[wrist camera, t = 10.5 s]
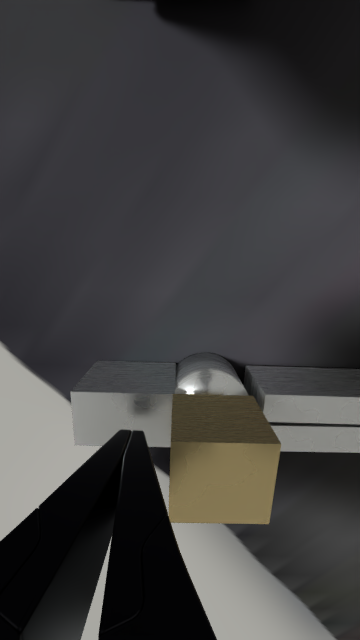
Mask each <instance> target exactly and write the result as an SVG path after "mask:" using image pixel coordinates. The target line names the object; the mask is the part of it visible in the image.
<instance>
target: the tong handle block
mask: <svg viewBox="0 0 360 640" xmlns="http://www.w3.org/2000/svg"><path fill="white" fill-rule="evenodd" d="M173 394H201V395H241V396H249V395H248V393H247V391H246V389H245V388H244V386H243V384H242V382H241V380H240V379H239V377H238V375H237V373H236V371H235V369H234V368H233V366H232V365H231V364H230V363H229V362H228V361H227V360H226V359H224V358H223V357H221V356H219V355H216V354H213V353H196V354H193V355H190V356H188V357H186V358H184V359H183V360H182V361H180V362H179V363H178V364H177V365H176V363H166V362H129V361H97V362H96V363H95V364H94V365H93V366H92V367H91V369H90V370H89V371H88V372H87V373H86V374H85V376H84V377H83V378H82V379H81V380H80V381H79V383H78V384H77V385H76V386H75V387H74V388H73V389H72V391H71V403H72V415H73V428H74V440H75V445H89V446H103V445H104V444H105V443H106V442H107V441H108V440H109V439H110V438H111V437H112V436H114V435H115V434H116V433H117V432H118V431H119V430H121V429H125V430H131V431H133V430H140V431H144V434H145V437H146V441H147V444H148V447H171V423H172V398H173Z"/></svg>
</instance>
